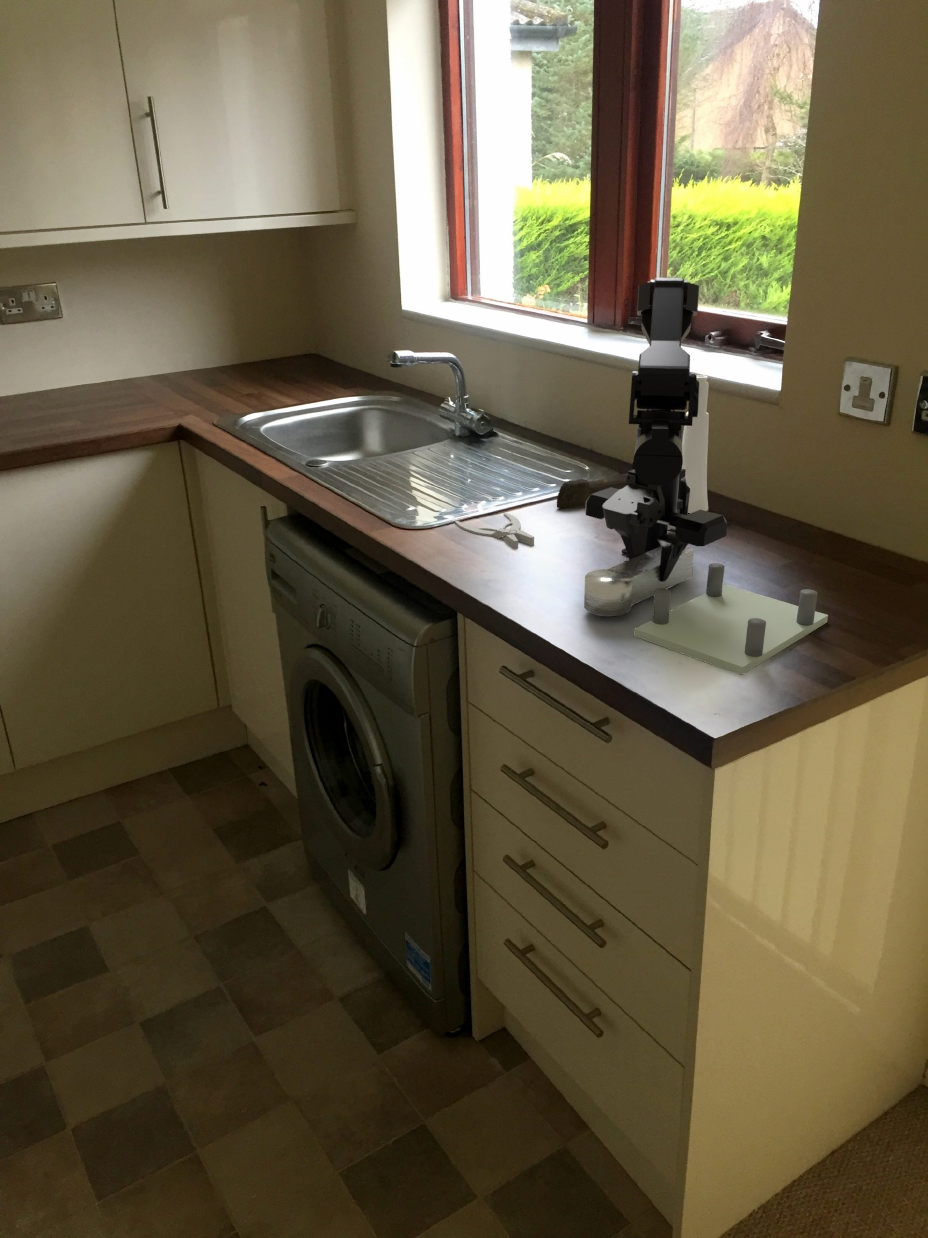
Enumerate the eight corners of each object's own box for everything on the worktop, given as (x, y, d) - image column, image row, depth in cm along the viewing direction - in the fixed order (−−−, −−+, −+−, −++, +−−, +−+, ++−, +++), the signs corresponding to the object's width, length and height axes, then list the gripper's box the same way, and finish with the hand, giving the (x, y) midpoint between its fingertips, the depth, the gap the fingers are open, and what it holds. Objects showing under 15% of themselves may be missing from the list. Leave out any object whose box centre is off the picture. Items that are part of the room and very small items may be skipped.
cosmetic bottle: (675, 514, 167) (685, 379, 158) (668, 503, 173) (677, 372, 164) (711, 514, 167) (724, 379, 158) (703, 502, 173) (715, 372, 164)
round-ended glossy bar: (574, 607, 130) (575, 578, 129) (661, 567, 142) (663, 541, 141) (611, 620, 126) (613, 590, 125) (697, 579, 139) (700, 551, 137)
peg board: (634, 636, 125) (636, 598, 123) (723, 590, 137) (726, 556, 135) (741, 675, 115) (746, 635, 113) (827, 622, 128) (832, 585, 126)
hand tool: (634, 488, 182) (635, 463, 180) (649, 494, 179) (650, 468, 177) (547, 506, 173) (548, 480, 171) (561, 513, 170) (562, 486, 168)
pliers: (507, 507, 168) (553, 533, 156) (507, 516, 169) (552, 543, 156) (453, 516, 164) (495, 544, 152) (453, 525, 165) (495, 553, 152)
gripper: (560, 461, 130) (557, 575, 136) (682, 491, 118) (673, 614, 124) (613, 445, 137) (608, 553, 143) (734, 471, 125) (723, 588, 131)
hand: (649, 576), depth 135 cm, fingers closed on round-ended glossy bar, 4 cm apart
